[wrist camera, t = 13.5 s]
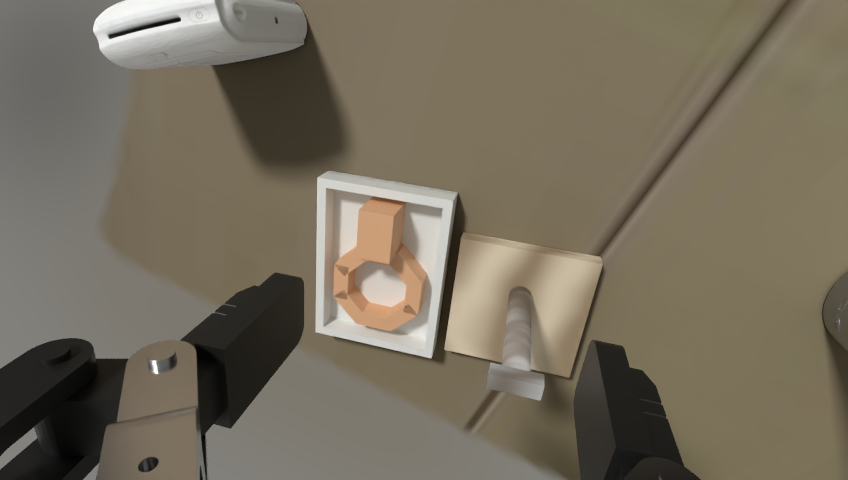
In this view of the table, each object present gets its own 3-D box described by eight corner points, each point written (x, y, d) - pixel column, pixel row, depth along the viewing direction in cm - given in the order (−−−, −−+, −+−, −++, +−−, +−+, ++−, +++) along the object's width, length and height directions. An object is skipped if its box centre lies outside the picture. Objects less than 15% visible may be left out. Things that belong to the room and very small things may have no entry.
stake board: (600, 256, 40) (629, 351, 28) (568, 367, 45) (580, 490, 32) (463, 232, 42) (433, 310, 29) (446, 340, 47) (415, 446, 34)
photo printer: (301, -10, 37) (201, -34, 26) (315, 47, 38) (225, 49, 27) (194, 16, 40) (61, 5, 29) (210, 68, 41) (90, 78, 30)
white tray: (457, 192, 40) (453, 200, 38) (436, 343, 47) (431, 358, 45) (328, 170, 42) (317, 177, 40) (325, 318, 49) (315, 332, 47)
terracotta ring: (435, 206, 41) (426, 222, 37) (419, 325, 46) (410, 349, 42) (345, 190, 42) (327, 203, 39) (339, 307, 47) (323, 329, 44)
